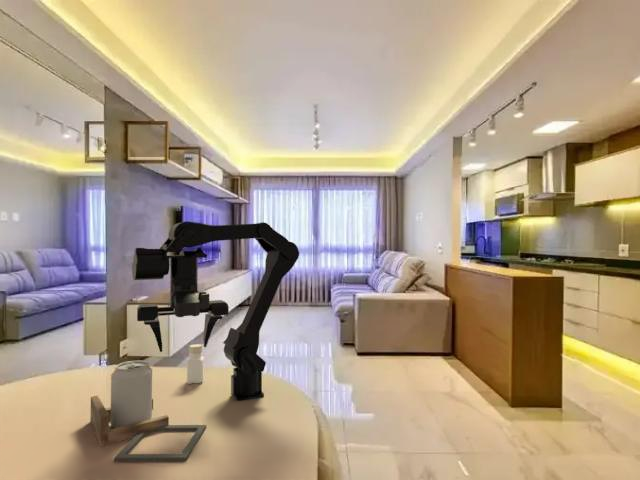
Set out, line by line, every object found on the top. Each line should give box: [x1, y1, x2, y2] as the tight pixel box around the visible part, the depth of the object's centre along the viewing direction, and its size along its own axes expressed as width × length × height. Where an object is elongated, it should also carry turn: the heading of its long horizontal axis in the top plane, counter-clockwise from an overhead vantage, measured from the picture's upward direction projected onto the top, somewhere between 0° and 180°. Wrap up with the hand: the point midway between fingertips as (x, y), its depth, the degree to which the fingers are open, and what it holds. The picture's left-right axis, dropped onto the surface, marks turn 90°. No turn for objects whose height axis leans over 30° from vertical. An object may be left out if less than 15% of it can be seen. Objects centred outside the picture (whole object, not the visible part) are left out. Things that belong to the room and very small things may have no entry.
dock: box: [90, 395, 170, 447], centre depth 78 cm, size 12×12×5 cm
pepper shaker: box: [186, 343, 205, 385], centre depth 103 cm, size 4×4×10 cm
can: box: [109, 359, 153, 428], centre depth 78 cm, size 8×8×12 cm
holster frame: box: [113, 424, 207, 463], centre depth 70 cm, size 12×12×1 cm
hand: (183, 349), depth 86 cm, fingers open, 9 cm apart
